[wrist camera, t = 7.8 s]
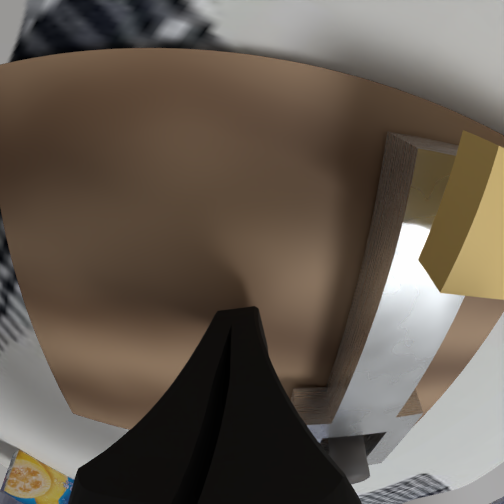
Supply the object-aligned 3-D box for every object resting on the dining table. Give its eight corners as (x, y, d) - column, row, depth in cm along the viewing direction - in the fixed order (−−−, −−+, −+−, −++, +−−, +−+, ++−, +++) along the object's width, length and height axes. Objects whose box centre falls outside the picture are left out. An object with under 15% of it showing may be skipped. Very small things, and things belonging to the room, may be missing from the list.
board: (390, 435, 19) (402, 493, 15) (77, 401, 18) (55, 462, 13) (551, 166, 9) (629, 218, 5) (9, 64, 8) (-95, 87, 3)
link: (375, 436, 17) (381, 462, 15) (280, 442, 17) (281, 471, 15) (500, 156, 8) (538, 178, 6) (335, 124, 8) (355, 139, 6)
